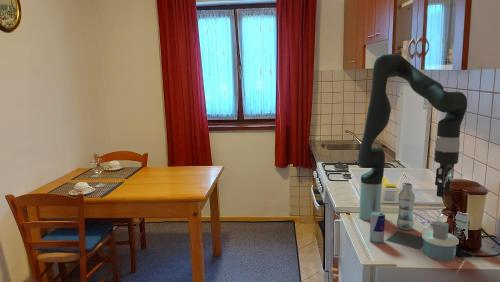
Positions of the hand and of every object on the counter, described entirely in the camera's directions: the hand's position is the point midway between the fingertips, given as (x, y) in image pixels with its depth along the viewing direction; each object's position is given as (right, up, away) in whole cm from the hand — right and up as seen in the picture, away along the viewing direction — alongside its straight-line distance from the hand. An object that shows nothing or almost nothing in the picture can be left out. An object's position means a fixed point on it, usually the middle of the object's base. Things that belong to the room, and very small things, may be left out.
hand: (443, 193), depth 136 cm
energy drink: (-19, -21, +15) cm, 32 cm away
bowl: (0, -23, +3) cm, 23 cm away
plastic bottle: (-3, -19, +28) cm, 34 cm away
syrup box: (+13, -22, +11) cm, 28 cm away
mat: (-6, -21, +16) cm, 27 cm away
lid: (0, -17, +2) cm, 17 cm away
